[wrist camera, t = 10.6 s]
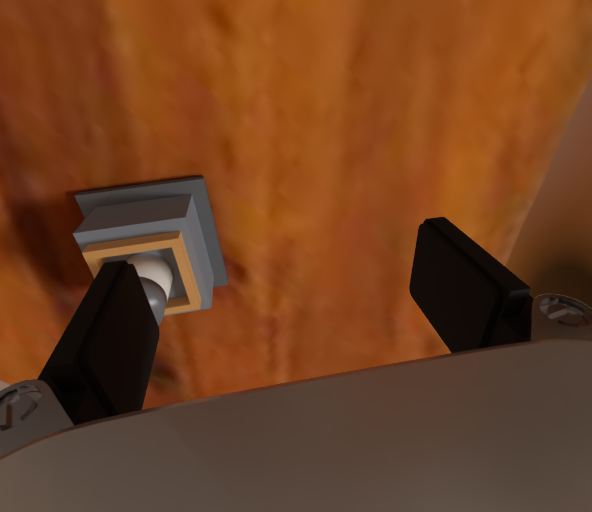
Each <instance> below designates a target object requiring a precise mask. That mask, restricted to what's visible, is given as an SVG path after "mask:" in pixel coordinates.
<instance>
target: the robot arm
mask: <svg viewBox="0 0 592 512" xmlns="http://www.w3.org/2000/svg"><path fill="white" fill-rule="evenodd" d="M530 289H531V288H530V287H529V286H528V285H526V284H525V283H524V282H523V281H521V280H520V279H519V278H518V277H517V276H515V275H514V274H513V273H512V272H511V271H509V270H508V269H507V268H506V267H505V266H503V265H502V264H501V263H500V262H498V261H497V260H496V259H495V258H494V257H492V256H491V255H490V254H489V253H488V252H486V251H485V250H484V249H483V248H481V247H480V246H479V245H478V244H477V243H475V242H474V241H473V240H472V239H471V238H469V237H468V236H467V235H466V234H464V233H463V232H462V231H461V230H460V229H458V228H457V227H456V226H455V225H454V224H452V223H451V222H450V221H449V220H447V219H446V218H445V217H438V218H430V219H426V220H425V221H424V223H423V224H421V225H420V226H419V229H418V236H417V242H416V248H415V255H414V261H413V267H412V274H411V280H410V294H411V296H412V298H413V299H414V300H415V302H416V303H417V305H418V306H419V308H420V309H421V310H422V312H423V313H424V315H425V316H426V317H427V319H428V320H429V322H430V323H431V324H432V326H433V327H434V329H435V330H436V332H437V333H438V334H439V336H440V337H441V339H442V340H443V341H444V343H445V344H446V346H447V347H448V348H449V350H450V351H451V353H450V354H445V355H439V356H433V357H427V358H422V359H416V360H410V361H404V362H399V363H393V364H387V365H382V366H376V367H370V368H365V369H359V370H354V371H348V372H342V373H337V374H331V375H326V376H320V377H315V378H309V379H304V380H298V381H293V382H287V383H282V384H276V385H271V386H265V387H260V388H254V389H249V390H244V391H238V392H233V393H228V394H222V395H217V396H211V397H206V398H201V399H195V400H190V401H185V402H179V403H174V404H169V405H164V406H159V407H154V408H149V409H144V410H142V406H143V402H144V398H145V394H146V390H147V386H148V381H149V377H150V373H151V369H152V365H153V361H154V356H155V352H156V348H157V344H158V340H159V327H158V324H157V321H156V319H155V316H154V314H153V311H152V309H151V306H150V303H149V301H148V298H147V296H146V293H145V291H144V288H143V286H142V283H141V281H140V278H139V276H138V273H137V270H136V268H135V266H134V265H133V264H128V262H127V261H126V260H120V261H112V262H105V263H104V264H103V265H102V267H101V268H100V270H99V272H98V274H97V275H96V277H95V279H94V281H93V282H92V284H91V286H90V288H89V290H88V291H87V293H86V295H85V297H84V298H83V300H82V302H81V304H80V305H79V307H78V309H77V311H76V312H75V314H74V316H73V318H72V319H71V321H70V323H69V325H68V326H67V328H66V330H65V332H64V333H63V335H62V337H61V339H60V340H59V342H58V344H57V346H56V347H55V349H54V351H53V353H52V354H51V356H50V358H49V360H48V361H47V363H46V365H45V367H44V368H43V370H42V372H41V374H40V375H39V377H38V379H33V380H25V381H22V382H19V383H15V384H13V385H11V386H9V387H7V388H5V389H3V390H1V391H0V512H592V309H591V308H590V307H588V306H587V305H585V304H584V303H582V302H580V301H578V300H576V299H573V298H570V297H567V296H563V295H557V294H544V295H539V296H537V297H536V298H534V299H533V298H532V297H531V296H530V295H529V292H530Z"/></svg>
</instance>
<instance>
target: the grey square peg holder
mask: <svg viewBox="0 0 592 512" xmlns="http://www.w3.org/2000/svg"><path fill="white" fill-rule="evenodd" d="M75 198H76V201H77V203H78V205H79V207H80V209H81V212H82V214H83V216H84V218H85V220H84V221H83V222H82V223H81V224H80V226H79V227H78V228H77V229H76V230H75V231H74V232H73V235H74V237H75V239H76V241H77V243H78V245H79V247H80V249H81V251H82V254H83V256H84V258H85V260H86V262H87V264H88V266H89V268H90V270H91V273H92V275H93V277H94V279H95V277H96V275H97V274H98V272H99V270H100V268H101V267H102V265H103V264H104V263H105V262H112V261H120V260H127V259H128V258H129V257H131V256H133V255H135V254H140V253H150V254H155V255H158V256H160V257H162V258H163V259H165V260H166V261H167V262H168V263H169V264H170V266H171V267H172V270H173V281H172V285H171V289H170V292H169V296H168V300H167V304H166V308H165V311H164V315H163V316H167V315H173V314H179V313H185V312H191V311H196V310H202V309H208V308H211V307H212V294H213V287H217V286H223V285H228V277H227V273H226V269H225V264H224V260H223V256H222V252H221V247H220V243H219V239H218V235H217V230H216V226H215V222H214V218H213V214H212V209H211V205H210V201H209V197H208V192H207V188H206V184H205V180H204V176H198V177H191V178H183V179H176V180H168V181H161V182H153V183H146V184H138V185H131V186H123V187H116V188H108V189H101V190H93V191H86V192H78V193H77V194H76V195H75Z"/></svg>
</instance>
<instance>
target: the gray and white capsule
mask: <svg viewBox="0 0 592 512" xmlns="http://www.w3.org/2000/svg"><path fill="white" fill-rule="evenodd" d="M126 261H127V262H128V264H133V265H134V266H135V268H136V270H137V273H138V276H139V278H140V281H141V283H142V286H143V288H144V291H145V293H146V296H147V298H148V301H149V303H150V306H151V309H152V311H153V314H154V316H155V319H156V321H157V324H158V326H159V324H160V323H161V321H162V319H163V315H164V311H165V308H166V304H167V300H168V296H169V292H170V289H171V285H172V281H173V270H172V267H171V266H170V264H169V263H168V262H167V261H166V260H165V259H163V258H162V257H160V256H158V255H155V254H150V253H140V254H135V255H133V256H131V257H129V258H128V259H127V260H126Z"/></svg>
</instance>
